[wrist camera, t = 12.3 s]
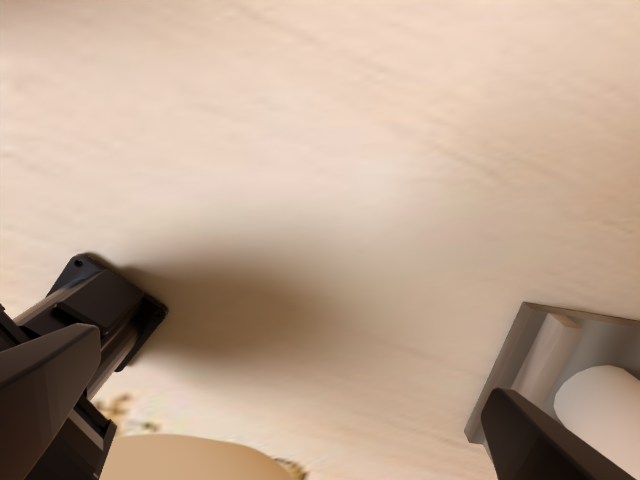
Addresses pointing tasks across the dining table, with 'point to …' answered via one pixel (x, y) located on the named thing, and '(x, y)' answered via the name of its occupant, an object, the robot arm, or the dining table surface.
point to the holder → (556, 356)
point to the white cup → (604, 413)
